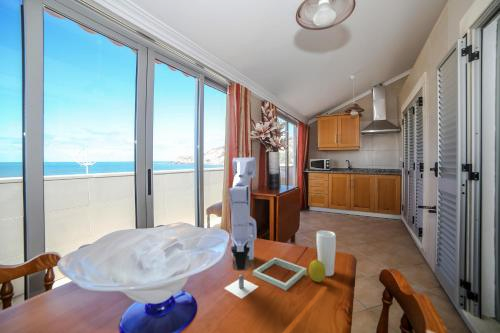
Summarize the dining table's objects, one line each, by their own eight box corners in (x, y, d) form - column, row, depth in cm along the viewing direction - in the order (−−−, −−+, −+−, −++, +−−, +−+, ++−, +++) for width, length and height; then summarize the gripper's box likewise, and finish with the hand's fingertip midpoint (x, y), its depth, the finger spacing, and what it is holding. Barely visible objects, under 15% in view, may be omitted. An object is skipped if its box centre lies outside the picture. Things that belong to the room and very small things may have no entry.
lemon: (326, 288, 69) (326, 264, 69) (309, 286, 70) (309, 262, 70) (324, 279, 74) (324, 256, 74) (308, 277, 75) (308, 255, 75)
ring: (232, 271, 66) (232, 261, 66) (233, 263, 71) (233, 254, 71) (254, 270, 66) (253, 261, 66) (253, 262, 71) (253, 253, 71)
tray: (252, 277, 76) (252, 271, 76) (274, 263, 86) (274, 257, 86) (286, 293, 67) (286, 285, 66) (306, 275, 77) (306, 268, 77)
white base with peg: (224, 291, 68) (223, 276, 68) (241, 280, 74) (240, 267, 74) (241, 301, 63) (241, 286, 63) (258, 289, 69) (258, 275, 69)
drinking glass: (316, 276, 76) (315, 235, 76) (317, 267, 83) (316, 229, 82) (336, 279, 74) (336, 237, 73) (335, 270, 80) (335, 231, 80)
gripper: (253, 229, 61) (254, 275, 61) (251, 216, 75) (252, 254, 76) (229, 230, 61) (230, 276, 61) (231, 217, 75) (232, 254, 75)
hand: (241, 264), depth 68 cm, fingers closed on ring, 5 cm apart
